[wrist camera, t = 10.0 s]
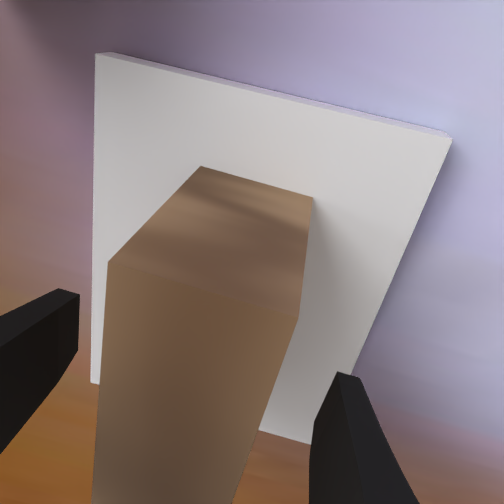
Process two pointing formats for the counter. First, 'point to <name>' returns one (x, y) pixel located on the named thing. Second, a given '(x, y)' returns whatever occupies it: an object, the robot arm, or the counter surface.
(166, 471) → the walnut brick
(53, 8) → the counter surface
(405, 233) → the white mat
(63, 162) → the counter surface
